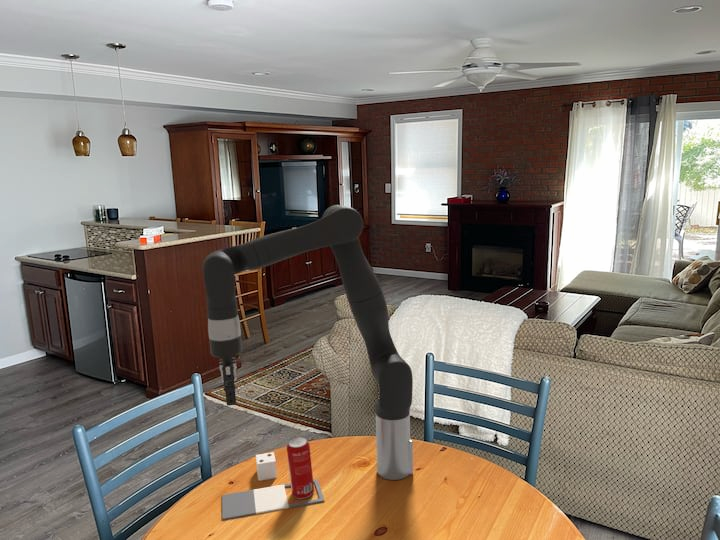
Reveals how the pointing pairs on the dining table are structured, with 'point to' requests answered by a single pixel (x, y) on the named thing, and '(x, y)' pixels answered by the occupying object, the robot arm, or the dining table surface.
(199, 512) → the dining table surface
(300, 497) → the beverage can
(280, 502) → the grey frame tray
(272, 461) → the die
